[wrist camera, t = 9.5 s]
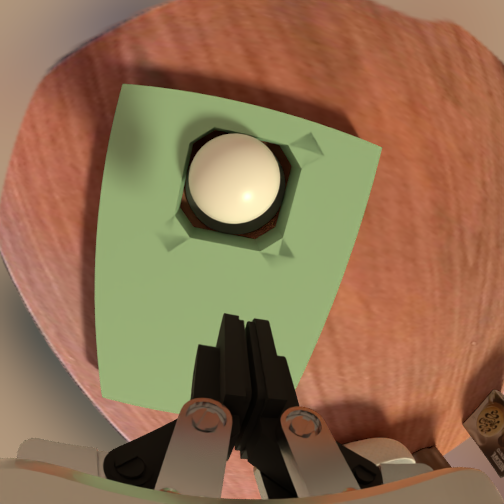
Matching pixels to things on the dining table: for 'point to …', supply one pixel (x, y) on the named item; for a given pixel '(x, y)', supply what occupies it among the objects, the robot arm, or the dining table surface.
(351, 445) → the cereal bowl
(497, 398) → the coffee box
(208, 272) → the putting board
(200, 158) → the ball
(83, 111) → the dining table surface
